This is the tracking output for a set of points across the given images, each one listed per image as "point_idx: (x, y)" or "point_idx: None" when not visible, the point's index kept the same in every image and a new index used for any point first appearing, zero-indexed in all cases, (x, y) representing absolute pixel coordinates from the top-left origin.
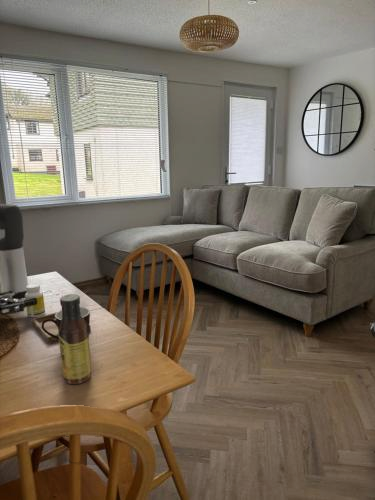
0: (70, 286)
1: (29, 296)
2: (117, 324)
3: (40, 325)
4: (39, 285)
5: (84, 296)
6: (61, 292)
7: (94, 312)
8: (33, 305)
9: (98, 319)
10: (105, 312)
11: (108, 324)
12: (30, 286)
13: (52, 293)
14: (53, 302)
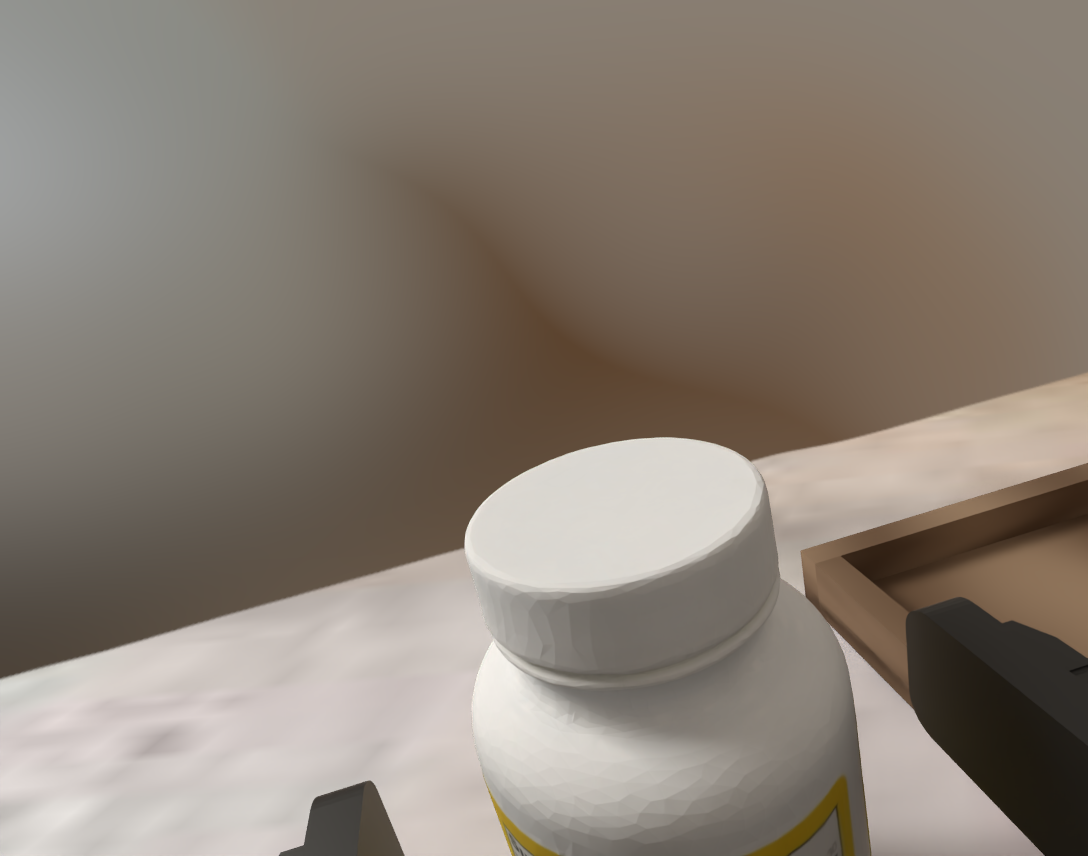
0: (76, 662)
1: (835, 710)
2: (1055, 393)
3: None
4: (635, 442)
5: (414, 564)
6: (139, 716)
7: (804, 488)
8: (866, 821)
9: (961, 459)
10: (818, 450)
11: (1062, 417)
12: (646, 521)
13: (64, 797)
14: (364, 768)
